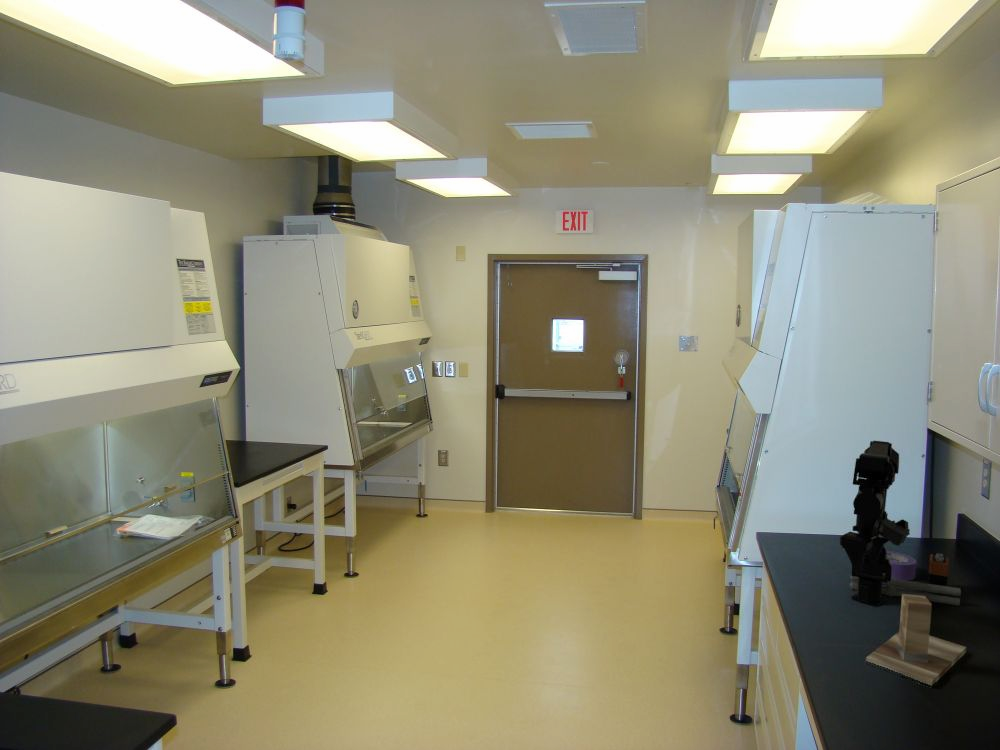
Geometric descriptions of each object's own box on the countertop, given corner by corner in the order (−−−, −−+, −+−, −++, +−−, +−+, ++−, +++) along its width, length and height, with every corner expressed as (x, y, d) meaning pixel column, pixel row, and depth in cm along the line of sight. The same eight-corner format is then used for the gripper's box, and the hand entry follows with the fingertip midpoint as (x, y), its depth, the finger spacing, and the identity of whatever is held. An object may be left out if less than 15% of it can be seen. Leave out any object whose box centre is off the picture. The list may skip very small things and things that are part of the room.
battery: (927, 593, 202) (929, 557, 201) (927, 585, 208) (930, 550, 206) (945, 597, 200) (948, 561, 198) (946, 589, 205) (949, 553, 204)
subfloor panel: (903, 633, 178) (904, 627, 178) (965, 653, 169) (966, 647, 168) (865, 664, 163) (866, 657, 163) (931, 687, 154) (932, 680, 154)
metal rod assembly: (958, 604, 196) (959, 585, 195) (959, 608, 193) (961, 589, 193) (849, 587, 206) (850, 570, 205) (849, 591, 203) (850, 573, 203)
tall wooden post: (896, 650, 167) (901, 593, 165) (920, 652, 166) (925, 595, 164) (903, 660, 162) (908, 602, 160) (927, 663, 161) (932, 604, 159)
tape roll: (904, 567, 221) (905, 551, 221) (922, 582, 210) (924, 565, 209) (862, 565, 223) (863, 549, 222) (878, 580, 211) (879, 563, 210)
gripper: (890, 522, 170) (885, 589, 171) (920, 507, 182) (915, 569, 184) (840, 511, 178) (836, 575, 179) (872, 497, 190) (868, 557, 192)
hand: (865, 569), depth 183 cm, fingers open, 9 cm apart
